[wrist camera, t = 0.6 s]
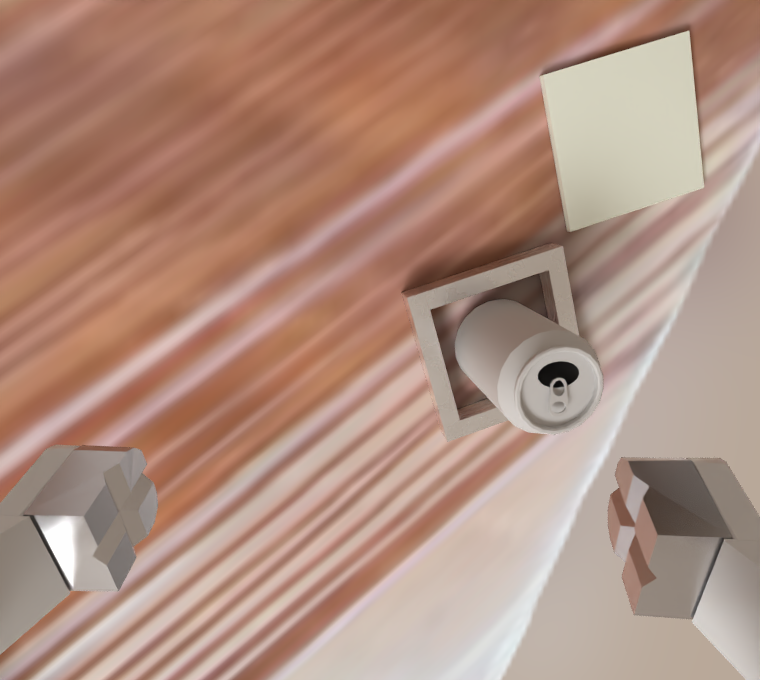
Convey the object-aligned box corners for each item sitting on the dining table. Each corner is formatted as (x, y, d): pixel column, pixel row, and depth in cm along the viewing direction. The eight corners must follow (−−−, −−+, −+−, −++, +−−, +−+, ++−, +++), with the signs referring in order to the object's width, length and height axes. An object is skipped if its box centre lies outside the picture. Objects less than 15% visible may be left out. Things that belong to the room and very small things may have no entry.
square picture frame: (401, 292, 46) (406, 297, 44) (551, 242, 47) (562, 245, 45) (440, 431, 50) (447, 441, 48) (577, 382, 51) (589, 391, 50)
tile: (539, 76, 43) (543, 75, 43) (683, 32, 44) (689, 30, 44) (566, 231, 47) (570, 232, 47) (699, 187, 48) (704, 187, 48)
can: (540, 295, 48) (622, 335, 37) (531, 379, 50) (606, 441, 39) (454, 297, 47) (512, 338, 36) (448, 383, 49) (502, 448, 38)
